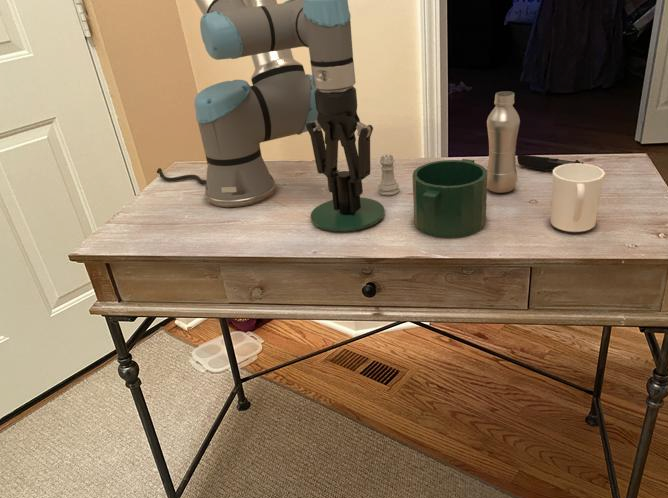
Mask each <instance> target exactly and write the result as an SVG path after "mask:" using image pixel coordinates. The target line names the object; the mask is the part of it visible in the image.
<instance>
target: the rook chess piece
mask: <svg viewBox="0 0 668 498" xmlns="http://www.w3.org/2000/svg"><path fill="white" fill-rule="evenodd" d="M395 161H396V159H394V156H393V155H392V154H385V155H384V154H383V155H381V156H380V160H379V163H380V165H381V167H380V169H381V180H380V183H379V184H378V193H379V194H380V195H382V196H383V197H384V196H385V197H390V196H395V195H397V194H398V192H399V191H400V188H399V183H398V182H397V179H396V178H395V173H394V169H395V166H394V164H395Z"/></svg>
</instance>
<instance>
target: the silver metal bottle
mask: <svg viewBox="0 0 668 498" xmlns="http://www.w3.org/2000/svg"><path fill="white" fill-rule="evenodd" d="M493 102H494V103H493V104H494V105H495V106H494V108H493V109H492V110H491V111H490V113H489V115H488V116H487V120H486V127H487V128H486V129H487V136H488V137H487V138H488V158H487V159H488V160H487V168H486V170H487V190H489V191H490V192H492V193H499V194H501V193H502V194H503V193H508V192H511V191H514V189H515V188H516V185H517V182H518V172H517V165H516V164H517V163H516V162H517V161H516V151H517V141H518V140H517V139H518V135H519V130H520V124H521V119H520V115H519V113H518V111H517V110H516V109H515V107H514V106H513V105H514V104H515V92H513V91H499V92H498V91H497V92H496V93H495V95H494V101H493Z"/></svg>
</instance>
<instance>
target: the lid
mask: <svg viewBox="0 0 668 498" xmlns="http://www.w3.org/2000/svg"><path fill="white" fill-rule="evenodd" d="M350 179H351V177H350V173H349V170H341V171H339V172H338V173H336V184H337V193H338V202H339V210H334V205H333V199H331V200H328V201H325V202H323V203H321V204H319V205H318V206H316V207H314V209H313V210H312V211H311V213H310V220H311V222H312V224H313V225H314V226H315V227H317V228H319V229H323V230H325V231H326V230H327V231H332V232H351V231H358V230H361V229H365V228H368V227H371V226H373V225H375V224H377V223H378V222H380V221H381V220H382V219H384V216H385V213H386V212H385V207H384V205H383V203H381V202H379V201H377V200H375V199H372V198H368V197H362V196H360V204H361V208H360V209H359V210H357V211H356V212H355V213H351V211H350V201H349V191H348V181H349V180H350Z"/></svg>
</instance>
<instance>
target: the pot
mask: <svg viewBox="0 0 668 498" xmlns="http://www.w3.org/2000/svg"><path fill="white" fill-rule="evenodd" d="M487 193H488V188H487V168H485V167H484V166H483V165H481V164H479V163H477V162H475V160H474V159H468V158H462V159H461V160H460V159H447V160H436V161H432V162H427V163H425V164H422V165H419V166H418V167H417V168H416V169H414V170H413V173H412V198H413V202H412V203H413V222H414V226H415V228H416V229H417V230H418V232H420V233H422V234H424V235H426V236H429V237H432V238H439V239H459V238H465V237H469V236H472V235H475V234H477V233H479V232H480V231H482V230H483V229H484V228H485V226H486V223H487V197H488V196H487V195H488V194H487Z"/></svg>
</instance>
